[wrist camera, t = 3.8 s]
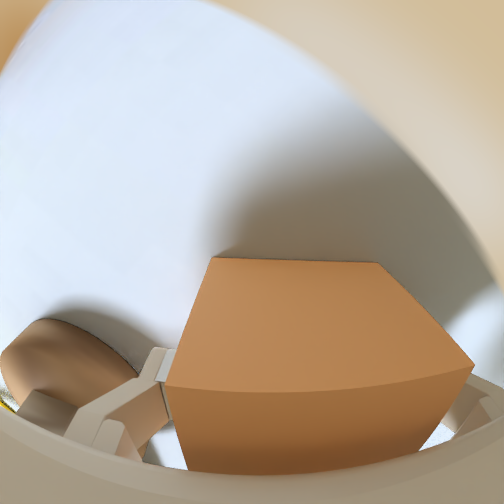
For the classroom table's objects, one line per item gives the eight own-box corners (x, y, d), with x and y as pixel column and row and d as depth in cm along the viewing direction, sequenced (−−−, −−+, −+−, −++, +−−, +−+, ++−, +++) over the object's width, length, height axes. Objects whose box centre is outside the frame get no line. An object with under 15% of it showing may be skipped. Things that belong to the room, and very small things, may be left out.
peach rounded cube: (377, 262, 10) (474, 364, 4) (346, 382, 12) (382, 489, 6) (211, 257, 10) (164, 385, 4) (216, 383, 12) (200, 502, 6)
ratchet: (137, 333, 11) (83, 434, 6) (190, 498, 17) (183, 546, 12) (4, 307, 11) (-54, 359, 5) (100, 476, 17) (86, 518, 12)
